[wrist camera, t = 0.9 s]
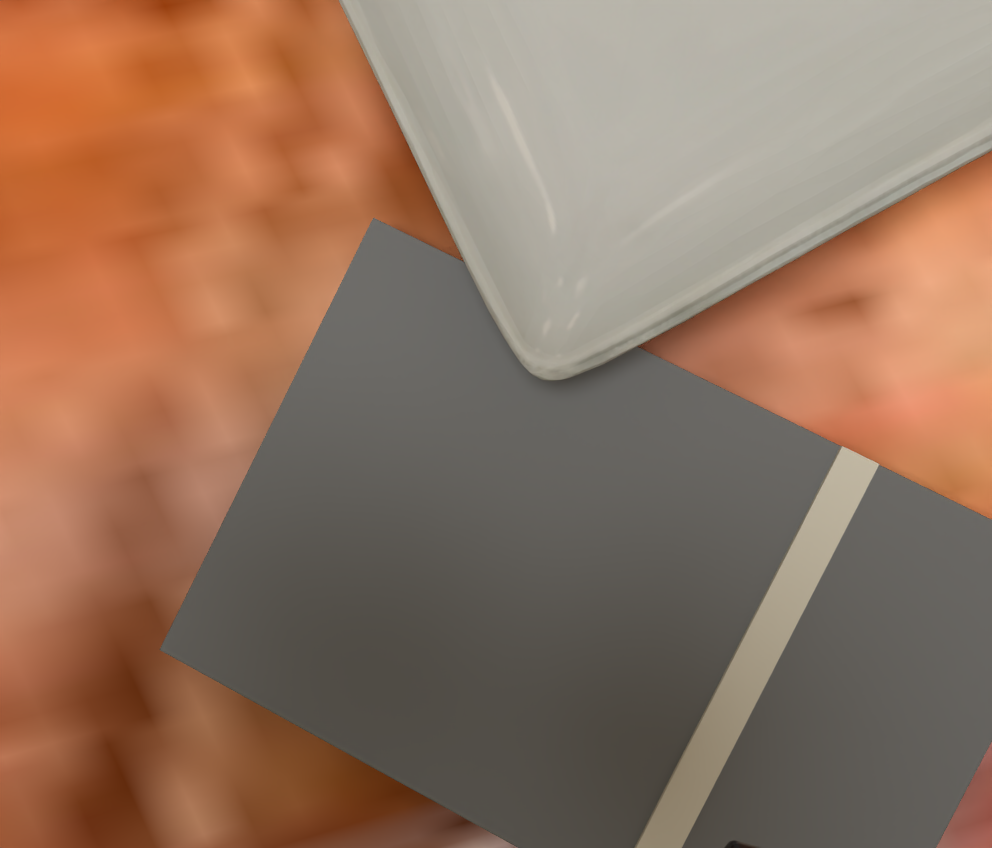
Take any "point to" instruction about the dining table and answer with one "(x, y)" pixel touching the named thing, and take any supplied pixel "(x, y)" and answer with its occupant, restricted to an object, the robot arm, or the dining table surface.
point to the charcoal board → (593, 591)
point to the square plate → (667, 143)
